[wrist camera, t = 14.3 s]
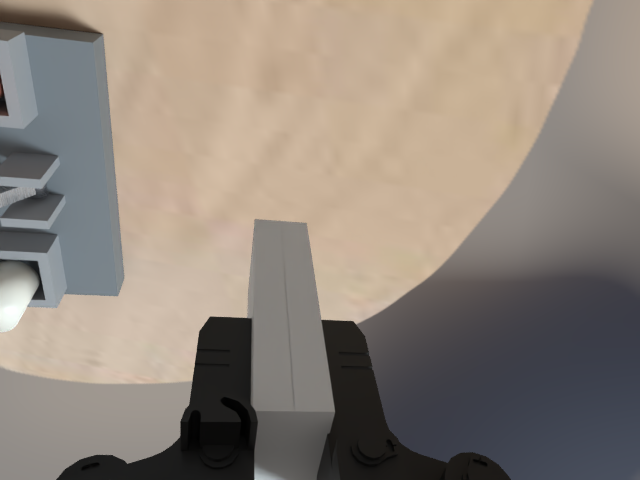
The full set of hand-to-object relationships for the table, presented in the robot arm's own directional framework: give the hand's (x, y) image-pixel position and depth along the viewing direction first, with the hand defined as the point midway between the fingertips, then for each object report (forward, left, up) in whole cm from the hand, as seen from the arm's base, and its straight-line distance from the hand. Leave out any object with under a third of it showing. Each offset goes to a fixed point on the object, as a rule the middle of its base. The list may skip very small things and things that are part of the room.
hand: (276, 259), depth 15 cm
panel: (+14, -19, -32) cm, 40 cm away
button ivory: (+23, -21, -27) cm, 41 cm away
